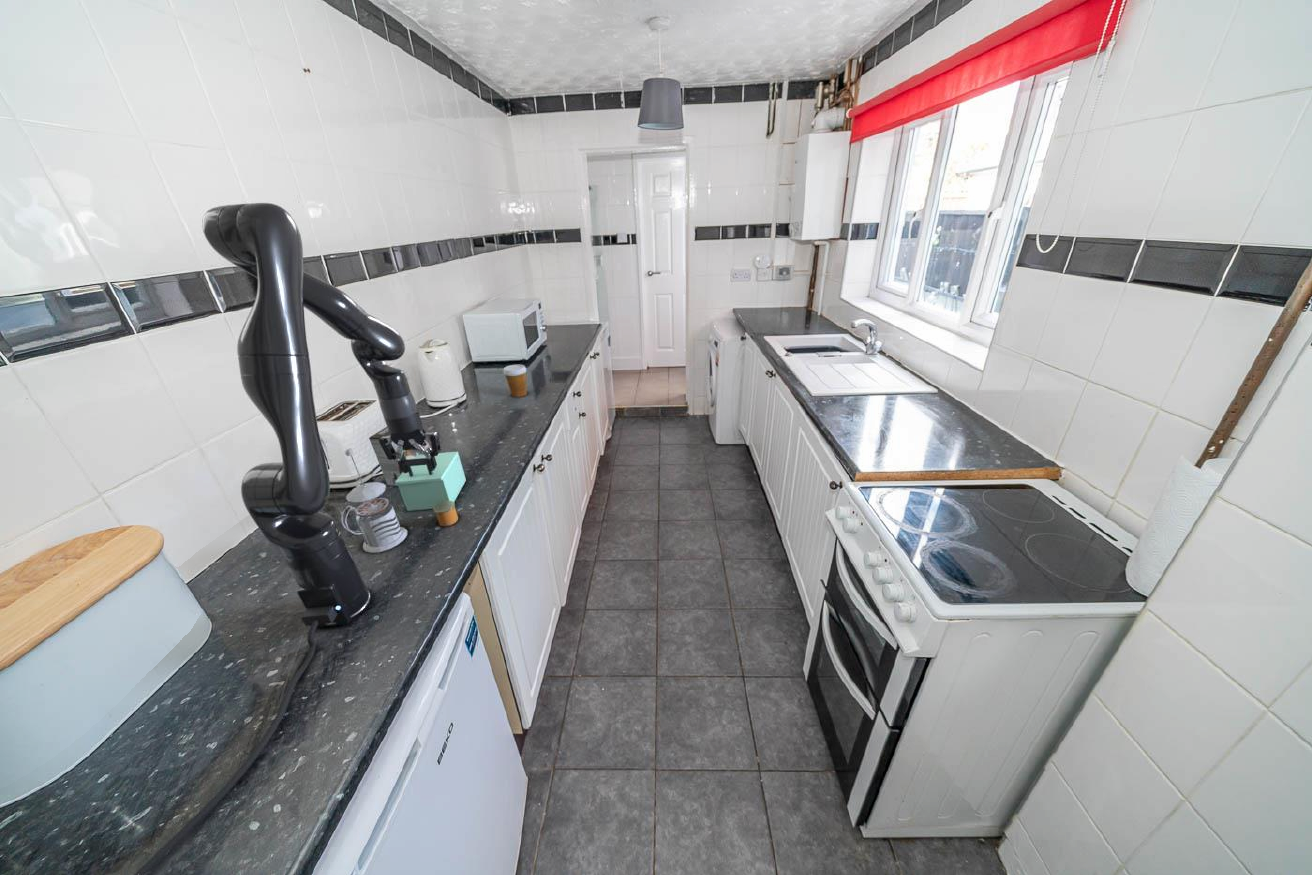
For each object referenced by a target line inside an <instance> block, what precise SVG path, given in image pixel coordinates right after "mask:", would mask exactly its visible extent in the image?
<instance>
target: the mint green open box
mask: <svg viewBox="0 0 1312 875" xmlns="http://www.w3.org/2000/svg"><path fill="white" fill-rule="evenodd" d="M466 481H467V479H466V475H465V471H464V469H463V464H462V460H461V457H460V454H459V453H458V456H457V457H456V459H455V460H454V462H453V464H452V465H451V467H450V468H449V470H448V471H447V473H446V475H445V476H444V478H443V479H442V481H432V482H420V483H409V484H398V486H397V487H398V489H399V493H400V495H401V498H402V500H403V503H404V506H405V509H406V511H407V512H410V511H411V512H413V511H420V510H422V511H423V510H432V509H433V508H434V507H435V505H437V504H438V503H440V502H443V501H453V502H454V503H455V501H456V500H457V497H458V496H459V494H460V492H461V491H462V489H463V487H464V485H465V483H466Z"/></svg>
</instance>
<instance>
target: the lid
mask: <svg viewBox="0 0 1312 875" xmlns="http://www.w3.org/2000/svg"><path fill="white" fill-rule="evenodd" d="M458 454H459V451H449V452H439V454H438V455H437V456H435V459H436V462H437V466H436V468H435V470H434V471H430V469H429V466H428V463H427V460H426V459H427V458H426V457H425V455H424V454H423V453H422V454H419V455H416V456H415V458H414V459H407V460H404V466H405V467H407V469H408V473H402V474H401V475H400V476H399V478H398V479H397V480H396V481H395V484H396V485H398V484H409V483H420V482H432V481H442V479H443V478H444V476H445V475H446V473H447V471H448V470H449V468H450V467H451V465H452V464H453V462H454V460H455V459H456V457H457V456H458Z"/></svg>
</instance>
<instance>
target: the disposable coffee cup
mask: <svg viewBox="0 0 1312 875" xmlns="http://www.w3.org/2000/svg"><path fill="white" fill-rule="evenodd" d="M502 373H503V375H504V376H505V379H506V382H507V386H508V387H509V390H510V394H511V396H512V397H514V398H520V397H525V396H526V395H527V394H528V388H527V386H528V385H527V367H526V366H525V365H524V364H510V365H507V366H505V367H504V368H503V372H502Z"/></svg>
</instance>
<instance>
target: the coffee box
mask: <svg viewBox="0 0 1312 875" xmlns="http://www.w3.org/2000/svg"><path fill="white" fill-rule="evenodd" d="M384 435H387V436H390V432H389V431H388V428H387V426H386V427H384V428H382V429H380V430H378V431H377V432H376V433H374V434H373V435H371V436H369V437H368V440H369V442H370V444H371V446H372V449H373V451H374V454H375V456H376V460H377V462H378V464H379V467H380V470H381V472H382V474H383V477H384V480H385V482H386V486H391V487H398V485H396V484H395V481H396V480H397V479H398V478H399V476H400V475H401V474H402V473H403V471H401V470H400V467H399V464H398V462H397V461H396V460H394V459H392V460H389V459H388V458H387V456H386V454H385V452H384V450H383V449H382V447H381V445H380V443H379V440H380V439H381V438H382V437H383V436H384ZM392 445H393V447H394V449H395V451H396V452H397V447H398V445H396V444H395V443H394V442H393V441H392ZM416 455H420V452H419V451H418V450H413V449H410V450H406V451H405V456H404V457H406V459H414V458H415V456H416Z"/></svg>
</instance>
